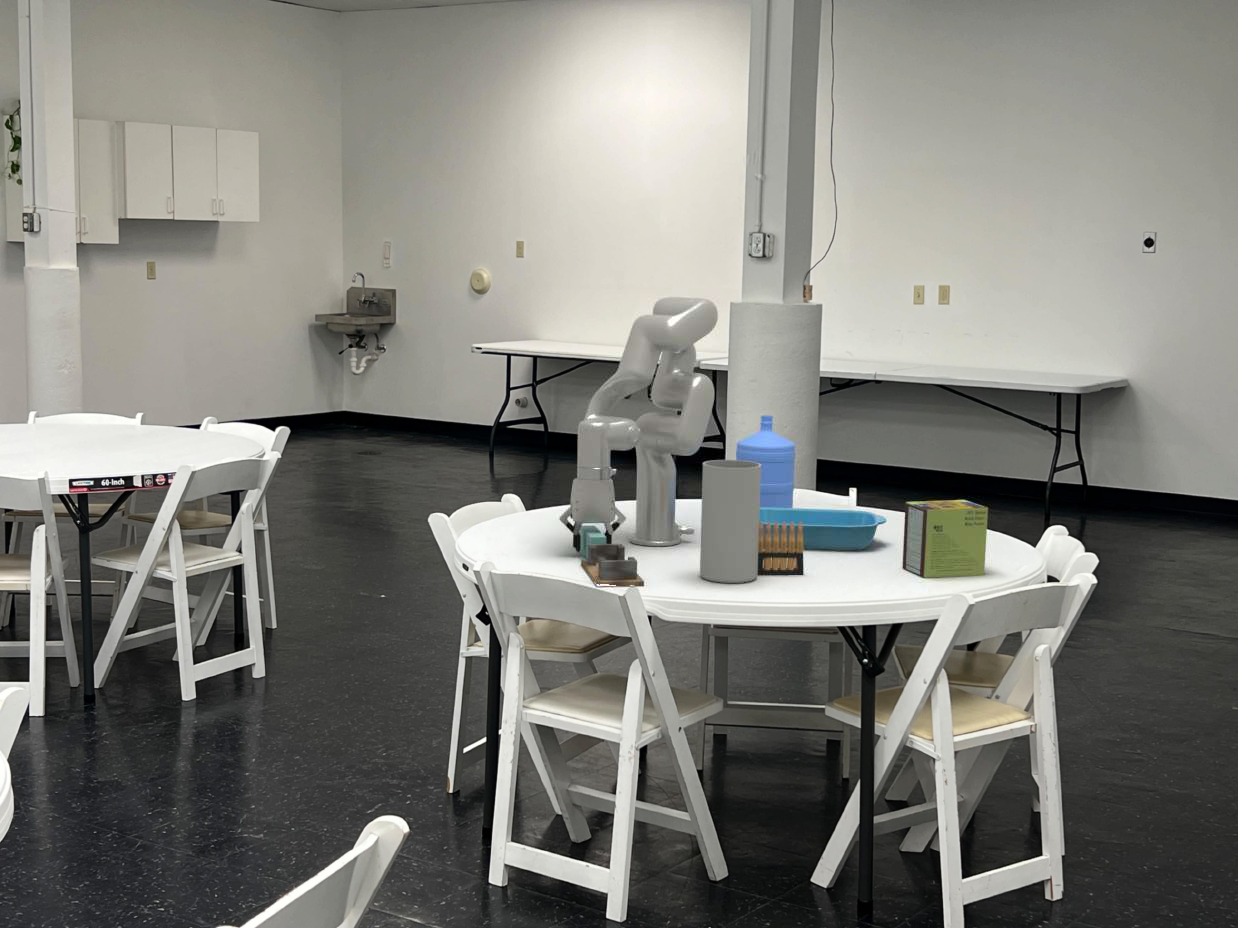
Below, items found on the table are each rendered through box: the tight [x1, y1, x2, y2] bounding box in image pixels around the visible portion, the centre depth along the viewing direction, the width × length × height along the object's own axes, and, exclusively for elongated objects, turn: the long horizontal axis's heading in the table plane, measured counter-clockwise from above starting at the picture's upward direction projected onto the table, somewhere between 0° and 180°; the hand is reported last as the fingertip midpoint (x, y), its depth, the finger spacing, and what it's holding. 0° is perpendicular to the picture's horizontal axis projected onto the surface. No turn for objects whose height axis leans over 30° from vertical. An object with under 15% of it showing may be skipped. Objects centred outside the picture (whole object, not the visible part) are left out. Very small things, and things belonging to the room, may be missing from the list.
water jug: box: [735, 414, 796, 508], centre depth 372 cm, size 16×16×28 cm
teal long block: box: [579, 525, 606, 560], centre depth 324 cm, size 4×14×6 cm, turn 12°
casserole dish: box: [759, 507, 887, 551], centre depth 345 cm, size 37×22×7 cm, turn 83°
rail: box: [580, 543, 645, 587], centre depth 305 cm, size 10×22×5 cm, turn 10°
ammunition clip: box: [757, 521, 805, 576], centre depth 308 cm, size 11×2×12 cm, turn 94°
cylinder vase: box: [699, 459, 761, 584], centre depth 303 cm, size 12×12×25 cm
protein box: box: [902, 499, 989, 579], centre depth 314 cm, size 10×15×16 cm
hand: (592, 549), depth 324 cm, fingers open, 6 cm apart
